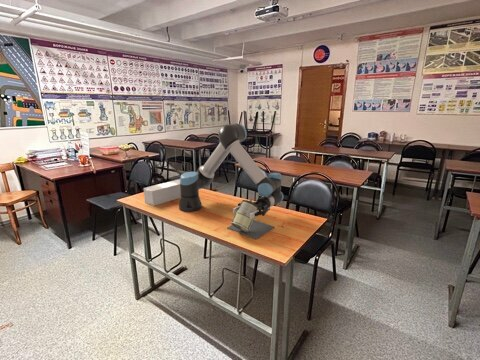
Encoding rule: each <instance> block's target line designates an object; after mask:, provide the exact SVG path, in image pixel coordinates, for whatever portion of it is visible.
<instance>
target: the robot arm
mask: <svg viewBox="0 0 480 360" xmlns="http://www.w3.org/2000/svg"><path fill="white" fill-rule="evenodd" d="M247 135H248V132H247V128H246V127H245V126H244V125H243V124H242V123H229V124H224V125H223V126H221V127H220V128H219V131H218V140H219V144H218V145H217V146H216V148H215V149H214V150H213V152H212V153H211V155H210V156H209V157H208V158H207V160H206V162H205V163H204V164H203V165H200V166H199V167H198V168H197V170H196V171H187V172H186V171H185V172H184V173H182V174H181V175H180V177H179V179H180V189H181V197H180V198H179V203H178V209H179V211H180V212H196V211H199V210H201V209H202V208H203V206H202V205H203V204H202V201H201V198H200V195H199V190H201V189H204V188H205V187H208V186H209V185H211V184H212V182H213V181H214V177H215V172H216V171H217V169H218V168H219V167H220V165H221V164H222V163H223V162H224V160H225V159H226V157H227V156H228V155H229V154H231V156H232V157H233V158H234V159H235V160H236V162H237V163H238V165H240V166H241V168H242V170H244V172H245V173H246V174H247V176H248V177H250V179H251V180H252V181H253V183H254V184H255V185H256V186H257V193H258V194H259V195H260V196H261V197H259V198H257V200H256V201H253V200H252V199H251V200H249V201H250V202H252V203H254V204H256V205H257V206H258V207H259V210H256V211H254V212H252V213H250V219H252V218H254V217H255V218H257V217H258V216H262V217H265V215H266V214H267V213H268V211H270V210H271V209H270V208H271V207H273V206H275V205H278V204H280V202H282V201H283V200H284V193H283V192H282V191H281V190H282V174H281V173H280V172H270V173H269V174H268V177H267V176H266V175H265V173H264V172H263V170H262V169H261V168H260V166H259V165H258V164H257V163H256V162H255V161H254V160H253V158H252V157H251V156H250V154H249V153H248V152H247V151H246V149H245V148H244V147H243V146H242V144H241V143H242V142H244V141H245V140H246V138H247ZM240 204H241V202H239V203H237V206H236V207H234V208H232V213H233V214H236V213H237V211H238V208H239V206H240ZM255 218H254V219H255Z"/></svg>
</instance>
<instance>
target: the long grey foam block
mask: <svg viewBox="0 0 480 360" xmlns="http://www.w3.org/2000/svg"><path fill="white" fill-rule="evenodd" d="M143 196H144V197H143V198H144V203H145V204H147V205H151V206H153V207H154V206H157V205H161V204H164V203H167V202H171V201H173V200H176V199H181V189H180V178H179V179H175V180H171V181H170V180H169V181H167V182H162V183H159V184H155V185H151V186H147V187H143Z"/></svg>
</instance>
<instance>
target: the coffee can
mask: <svg viewBox="0 0 480 360" xmlns="http://www.w3.org/2000/svg"><path fill="white" fill-rule="evenodd" d="M252 202H253V201H252ZM252 202H250V200H248V199H242V201H241V202H240V203H241V204H240V206H239V208H238V211H237V213H235V215H234V217H233V219H232V220H231V223H230V224H231V225H233V226H234V227H236V228H238V229H240V230H242V231H245V232H248V231H249V229H250V227H251V225H252V223H253V220H255V218H256V217H254V218H252V219H250V213H252V212H254V211H256V210H258V211H259V207H258V206H257V205H256V204H254V203H252Z"/></svg>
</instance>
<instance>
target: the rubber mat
mask: <svg viewBox="0 0 480 360" xmlns="http://www.w3.org/2000/svg"><path fill="white" fill-rule="evenodd" d="M226 229H228V230H230V231H232V232H236V233H239V234H241V235H243V236H246V237H248V238H251V239H253V240H258V239H260V238H261V237H262V236H264V235H266V234H267V233H270V232H271V231H273V230H274V229H276V226H274V225H271V224H267V223H265V222H263V221H262V222H261V221H259V220H256V219H254V220H253V223H252V225H251V227H250V229H249V231H248V232H245V231H242V230H240V229H238V228H236V227H234V226H233V225H232V224H231V225H230V226H227V227H226Z"/></svg>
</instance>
